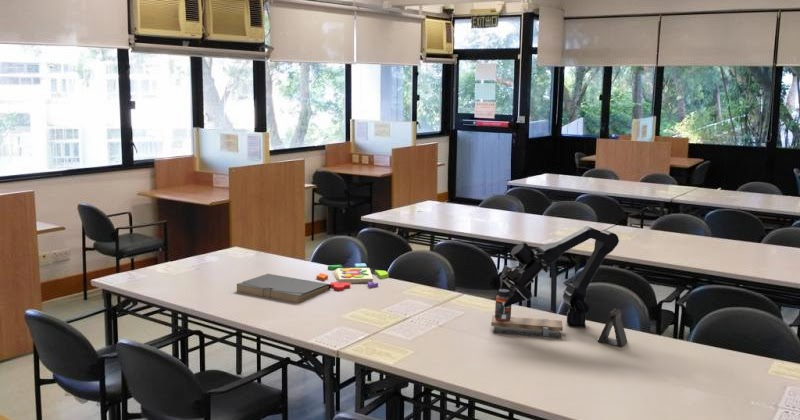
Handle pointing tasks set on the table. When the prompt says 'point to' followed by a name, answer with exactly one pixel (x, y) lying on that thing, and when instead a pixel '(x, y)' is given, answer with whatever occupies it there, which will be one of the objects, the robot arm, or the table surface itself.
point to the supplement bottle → (502, 306)
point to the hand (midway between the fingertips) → (500, 302)
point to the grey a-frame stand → (615, 320)
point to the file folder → (283, 287)
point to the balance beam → (529, 323)
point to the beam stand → (527, 332)
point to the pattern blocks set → (352, 276)
